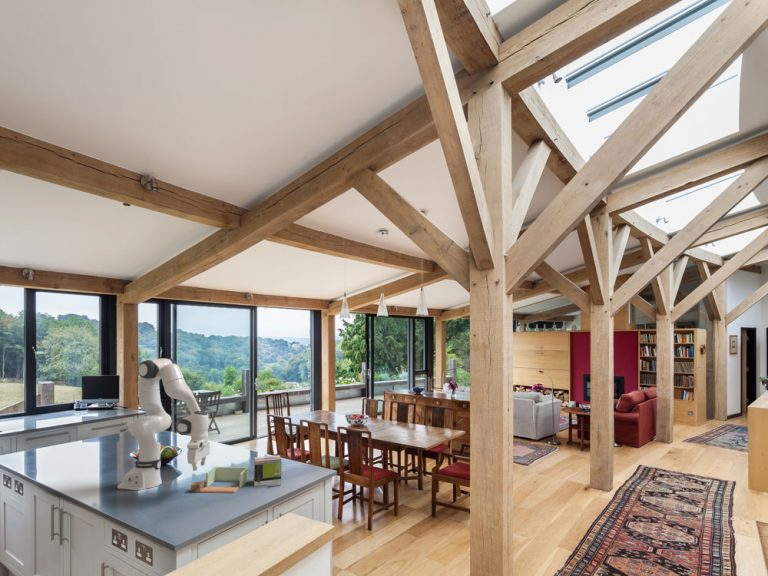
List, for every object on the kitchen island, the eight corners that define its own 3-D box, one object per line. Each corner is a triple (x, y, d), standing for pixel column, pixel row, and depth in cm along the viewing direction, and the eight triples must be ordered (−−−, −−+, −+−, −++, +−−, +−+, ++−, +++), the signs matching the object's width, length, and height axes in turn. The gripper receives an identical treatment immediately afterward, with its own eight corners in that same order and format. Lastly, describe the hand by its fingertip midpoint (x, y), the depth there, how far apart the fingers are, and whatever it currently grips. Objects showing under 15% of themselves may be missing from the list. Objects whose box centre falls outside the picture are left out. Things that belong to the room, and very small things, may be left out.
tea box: (279, 480, 259) (280, 454, 261) (281, 485, 250) (282, 459, 252) (253, 482, 255) (254, 456, 256) (253, 488, 245) (254, 461, 247)
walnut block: (190, 494, 236) (190, 485, 236) (194, 491, 241) (195, 481, 241) (199, 494, 236) (200, 485, 236) (203, 491, 241) (204, 482, 241)
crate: (205, 489, 244) (206, 473, 245) (214, 481, 256) (215, 466, 257) (241, 489, 244) (241, 473, 245) (248, 482, 256) (248, 467, 257)
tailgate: (205, 489, 243) (199, 492, 236) (205, 486, 243) (200, 490, 236) (239, 489, 243) (234, 493, 235) (239, 486, 243) (234, 490, 235)
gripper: (202, 437, 252) (201, 462, 250) (185, 446, 231) (184, 473, 230) (213, 437, 252) (212, 462, 250) (197, 446, 231) (196, 473, 230)
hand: (198, 467), depth 240 cm, fingers open, 8 cm apart
